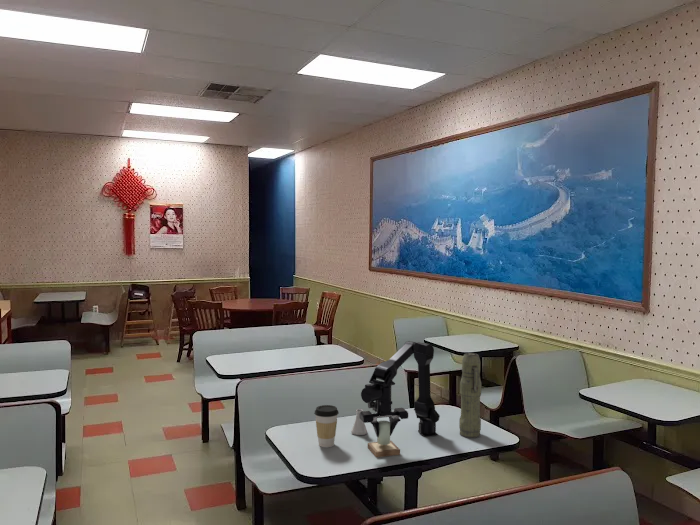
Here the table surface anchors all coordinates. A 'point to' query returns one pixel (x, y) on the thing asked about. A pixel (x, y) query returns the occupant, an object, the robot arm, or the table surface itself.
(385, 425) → the sage capsule
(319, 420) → the coffee cup
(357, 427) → the flask
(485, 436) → the table surface
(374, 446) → the plinth
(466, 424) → the stone statue
